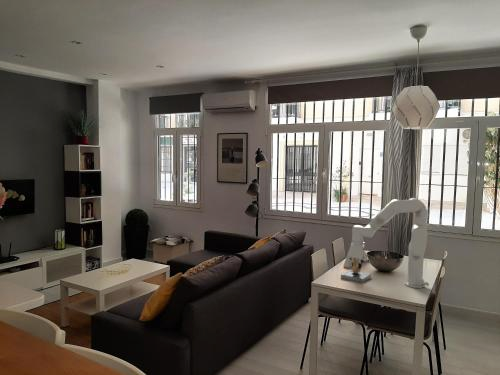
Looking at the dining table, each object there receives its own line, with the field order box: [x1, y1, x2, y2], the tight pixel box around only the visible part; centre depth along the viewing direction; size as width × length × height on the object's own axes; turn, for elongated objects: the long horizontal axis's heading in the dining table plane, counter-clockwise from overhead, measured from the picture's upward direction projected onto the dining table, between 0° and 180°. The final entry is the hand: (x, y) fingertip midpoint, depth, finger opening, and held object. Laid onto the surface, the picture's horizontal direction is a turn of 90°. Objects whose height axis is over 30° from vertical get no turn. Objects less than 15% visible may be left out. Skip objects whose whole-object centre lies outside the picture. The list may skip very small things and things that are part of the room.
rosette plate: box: [340, 269, 372, 284], centre depth 281 cm, size 16×16×3 cm
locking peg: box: [352, 258, 361, 273], centre depth 280 cm, size 4×4×10 cm
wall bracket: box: [343, 242, 369, 269], centre depth 320 cm, size 22×4×30 cm
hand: (356, 267), depth 280 cm, fingers closed on locking peg, 4 cm apart
